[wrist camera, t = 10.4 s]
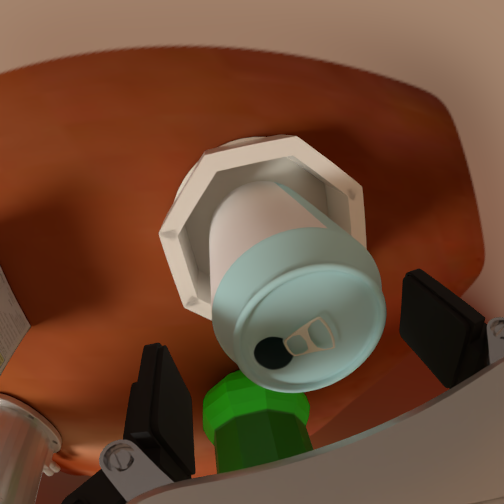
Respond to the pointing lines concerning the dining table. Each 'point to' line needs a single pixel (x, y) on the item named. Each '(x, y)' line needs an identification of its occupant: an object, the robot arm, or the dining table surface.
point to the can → (290, 290)
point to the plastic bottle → (254, 423)
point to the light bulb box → (10, 323)
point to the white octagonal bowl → (240, 173)
